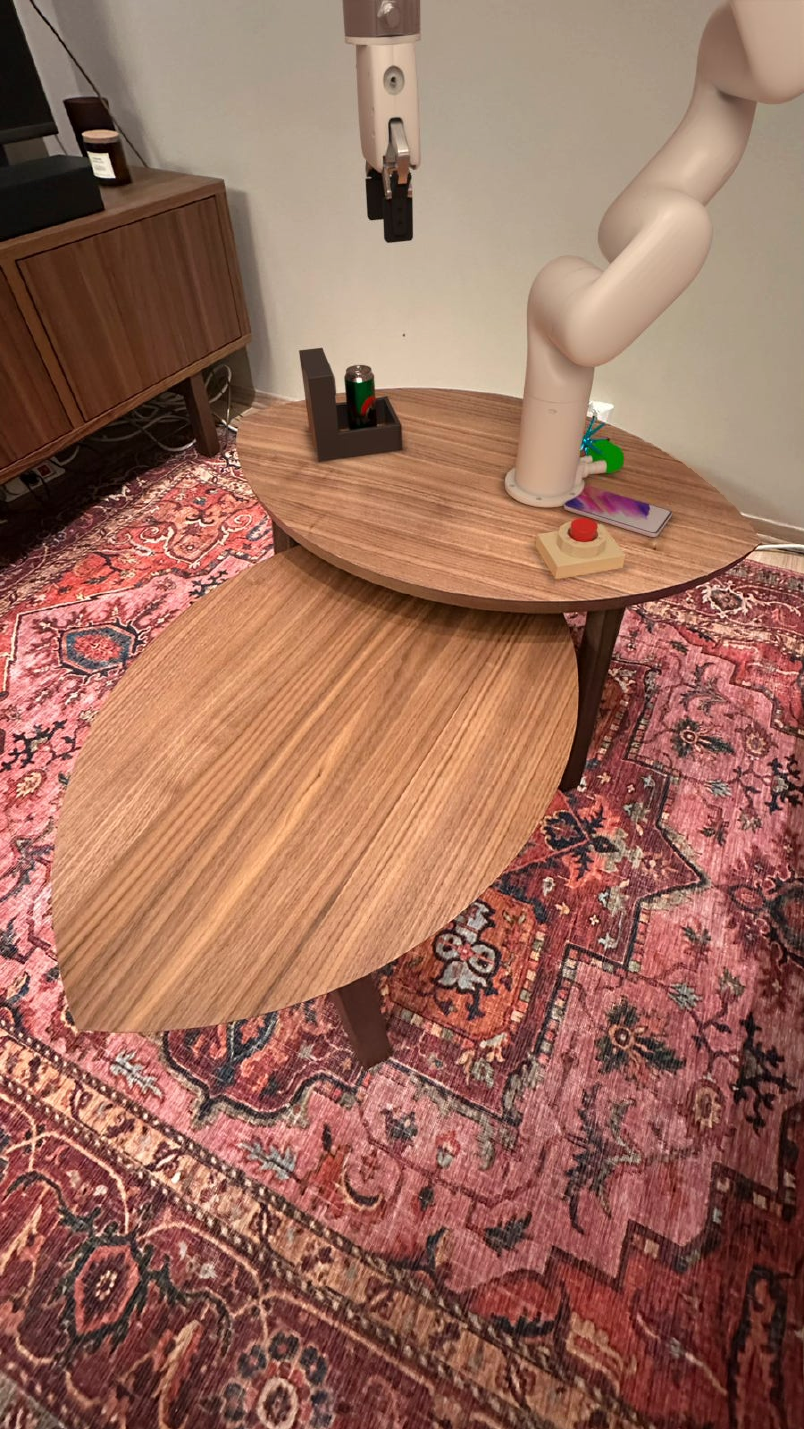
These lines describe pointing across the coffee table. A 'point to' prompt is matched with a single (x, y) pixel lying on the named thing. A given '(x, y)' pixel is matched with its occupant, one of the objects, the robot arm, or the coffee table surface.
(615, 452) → the stick construction toy
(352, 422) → the soda can
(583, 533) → the button
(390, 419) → the brown can holder
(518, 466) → the robot arm
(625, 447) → the coffee table surface
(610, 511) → the smartphone
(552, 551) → the control block
